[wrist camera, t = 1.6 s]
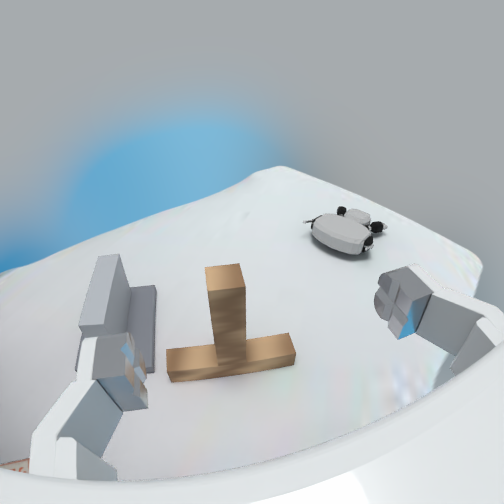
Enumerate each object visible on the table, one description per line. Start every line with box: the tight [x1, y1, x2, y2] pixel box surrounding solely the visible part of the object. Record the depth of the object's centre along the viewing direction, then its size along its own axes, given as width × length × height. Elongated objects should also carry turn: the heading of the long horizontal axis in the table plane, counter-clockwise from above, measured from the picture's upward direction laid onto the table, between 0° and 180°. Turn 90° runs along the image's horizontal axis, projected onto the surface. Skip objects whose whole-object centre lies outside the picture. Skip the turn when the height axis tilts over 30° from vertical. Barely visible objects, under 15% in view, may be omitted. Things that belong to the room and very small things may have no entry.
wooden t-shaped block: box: [166, 264, 296, 382], centre depth 28 cm, size 14×3×14 cm, turn 101°
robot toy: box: [303, 206, 387, 254], centre depth 53 cm, size 12×4×15 cm
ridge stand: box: [75, 254, 156, 373], centre depth 33 cm, size 10×14×8 cm
